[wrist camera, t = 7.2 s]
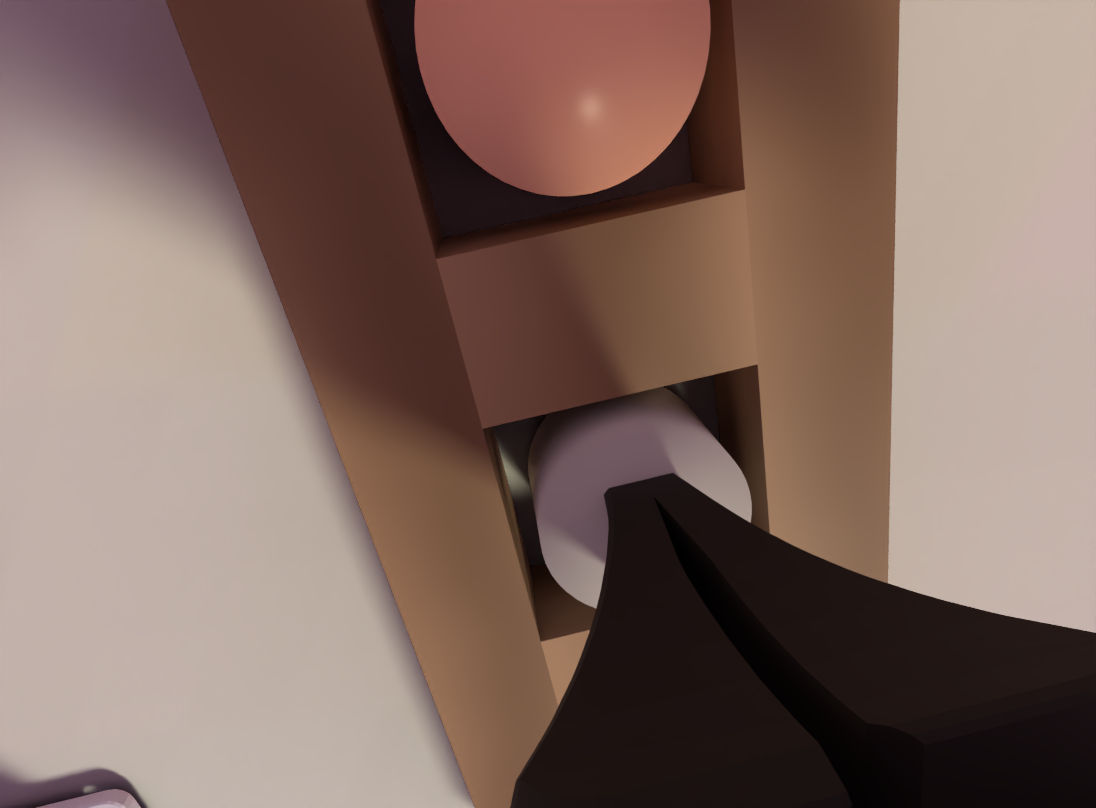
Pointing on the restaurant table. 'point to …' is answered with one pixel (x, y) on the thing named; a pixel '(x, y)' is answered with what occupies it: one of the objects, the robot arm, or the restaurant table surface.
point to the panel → (570, 314)
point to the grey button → (617, 475)
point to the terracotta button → (562, 84)
